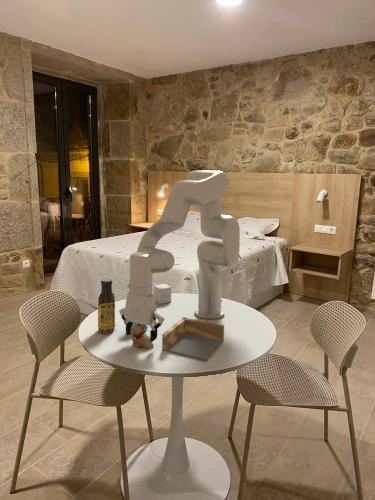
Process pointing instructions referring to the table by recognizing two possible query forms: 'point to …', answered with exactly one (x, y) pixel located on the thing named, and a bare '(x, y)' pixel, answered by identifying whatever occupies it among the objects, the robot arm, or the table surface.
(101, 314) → the sauce bottle
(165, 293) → the skincare box
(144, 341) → the tan rounded piece
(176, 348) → the slate mat
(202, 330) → the corner rails
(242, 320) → the table surface
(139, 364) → the table surface
